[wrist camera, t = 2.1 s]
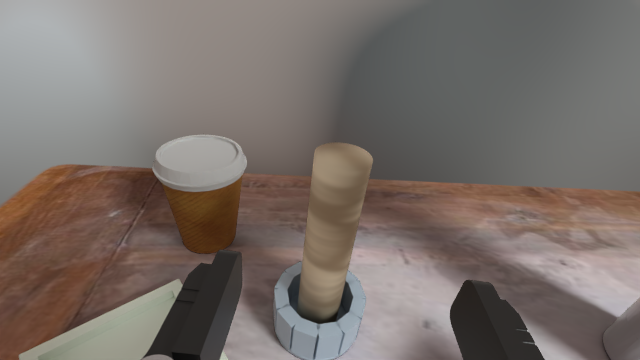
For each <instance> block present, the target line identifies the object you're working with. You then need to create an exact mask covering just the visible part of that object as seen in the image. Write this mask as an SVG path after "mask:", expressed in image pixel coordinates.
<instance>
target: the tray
mask: <svg viewBox="0 0 640 360" xmlns="http://www.w3.org/2000/svg"><path fill="white" fill-rule="evenodd" d="M182 286H183V285H182V283H181V282H180V280H179V279H177V280H174V281H172V282H170V283H168V284H166V285H164V286H162V287H160V288H158V289H156V290H154V291H151V292H149V293H147V294H145V295H143V296H141V297H139V298H137V299H135V300H133V301H130V302H128V303H126V304H124V305H122V306H120V307H118V308H116V309H114V310H112V311H109V312H107V313H105V314H103V315H101V316H99V317H97V318H95V319H93V320H91V321H89V322H86V323H84V324H82V325H80V326H78V327H76V328H74V329H72V330H70V331H68V332H65V333H63V334H61V335H59V336H57V337H55V338H53V339H51V340H49V341H47V342H44V343H42V344H40V345H38V346H36V347H34V348H32V349H30V350H28V351H26V352H24V353H21V354H19V360H141V359H142V358H143V357H144V355H145V354H146V353H147V352H148V350H149V348H150V347H151V345H152V343H153V341H154V339H155V337H156V335H157V334H158V332H159V330H160V328H161V326H162V324H163V322H164V320H165V318H166V316H167V315H168V313H169V311H170V309H171V307H172V305H173V303H175V299H176V298H177V296H178V294H179V292H180V291H181V288H182ZM220 360H228V358H227V356H226V355H225V353H224V352H223V351H222V354H221V357H220Z"/></svg>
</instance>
